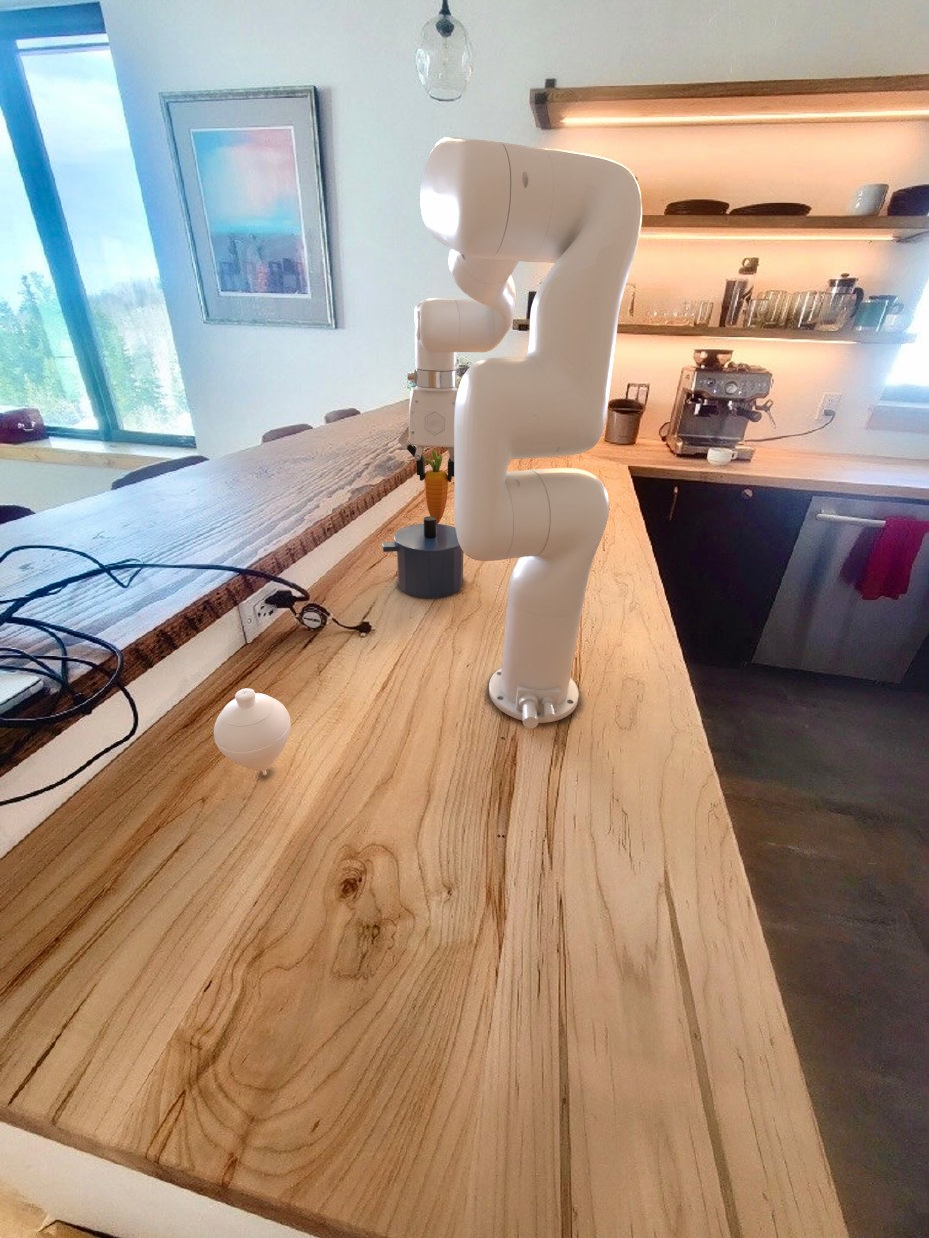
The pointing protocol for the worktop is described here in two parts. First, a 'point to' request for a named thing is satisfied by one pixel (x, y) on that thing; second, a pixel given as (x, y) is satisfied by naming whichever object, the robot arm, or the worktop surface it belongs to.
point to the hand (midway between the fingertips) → (436, 478)
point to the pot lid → (427, 537)
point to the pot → (428, 571)
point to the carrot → (436, 487)
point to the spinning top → (252, 730)
